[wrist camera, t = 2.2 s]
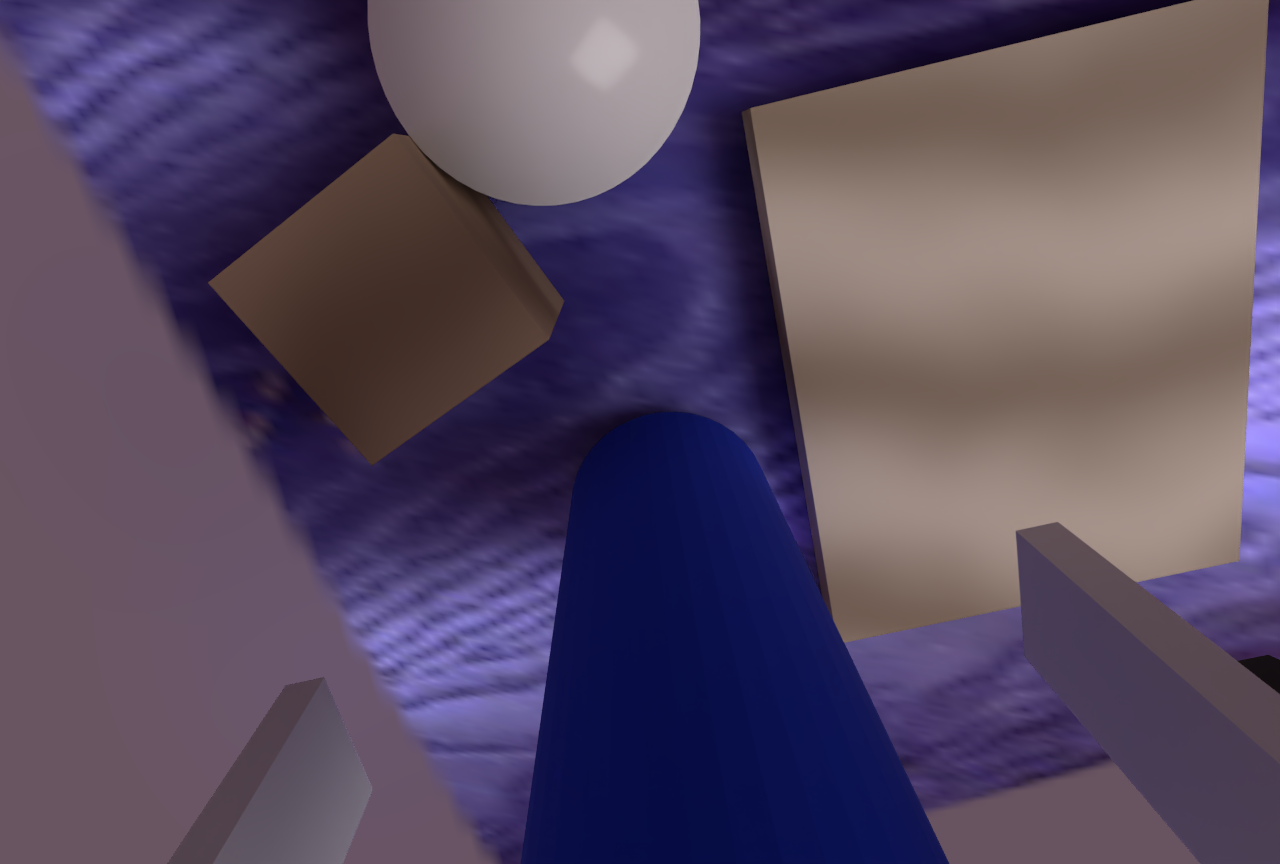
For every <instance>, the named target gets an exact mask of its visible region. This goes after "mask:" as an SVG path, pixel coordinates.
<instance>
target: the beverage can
mask: <svg viewBox="0 0 1280 864" xmlns="http://www.w3.org/2000/svg"><path fill="white" fill-rule="evenodd" d="M521 864H949V862H948V860H947V858H946V856H945V854H944V852H943V850H942V848H941V846H940V843H939V841H938V839H937V837H936V835H935V833H934V831H933V829H932V826H931V824H930V822H929V820H928V818H927V816H926V814H925V812H924V810H923V808H922V805H921V803H920V801H919V799H918V797H917V795H916V793H915V791H914V789H913V787H912V784H911V782H910V780H909V778H908V776H907V774H906V772H905V770H904V768H903V766H902V763H901V761H900V759H899V757H898V755H897V753H896V751H895V749H894V747H893V744H892V742H891V740H890V738H889V736H888V734H887V732H886V730H885V728H884V726H883V723H882V721H881V719H880V717H879V715H878V713H877V711H876V709H875V707H874V705H873V702H872V700H871V698H870V696H869V694H868V692H867V690H866V688H865V686H864V684H863V681H862V679H861V677H860V675H859V673H858V671H857V669H856V667H855V665H854V663H853V660H852V658H851V656H850V654H849V652H848V650H847V648H846V646H845V644H844V642H843V639H842V637H841V635H840V633H839V631H838V629H837V627H836V625H835V623H834V621H833V618H832V616H831V614H830V612H829V610H828V608H827V606H826V604H825V602H824V600H823V597H822V595H821V593H820V591H819V589H818V587H817V585H816V583H815V581H814V579H813V576H812V574H811V572H810V570H809V568H808V566H807V564H806V562H805V560H804V557H803V555H802V553H801V551H800V549H799V547H798V545H797V543H796V541H795V539H794V536H793V534H792V532H791V530H790V528H789V526H788V524H787V522H786V520H785V518H784V515H783V513H782V511H781V509H780V507H779V505H778V503H777V501H776V499H775V497H774V494H773V492H772V490H771V488H770V486H769V484H768V482H767V480H766V478H765V476H764V473H763V471H762V469H761V467H760V465H759V463H758V461H757V460H756V458H755V456H754V454H753V453H752V451H751V450H750V449H749V447H748V446H747V445H746V444H745V442H744V441H743V440H741V439H740V438H739V437H738V436H737V435H736V434H735V433H734V432H732V431H731V430H729V429H728V428H726V427H725V426H723V425H722V424H720V423H718V422H715V421H713V420H711V419H709V418H706V417H703V416H699V415H695V414H691V413H682V412H659V413H654V414H648V415H644V416H641V417H638V418H635V419H632V420H629V421H627V422H625V423H624V424H622V425H620V426H618V427H616V428H614V429H613V430H612V431H610V432H609V433H608V434H606V435H605V436H604V437H602V439H601V440H600V441H599V442H598V443H597V444H596V445H595V446H594V447H593V448H592V449H591V450H590V452H589V453H588V455H587V456H586V458H585V459H584V461H583V463H582V465H581V467H580V469H579V471H578V473H577V476H576V480H575V483H574V487H573V494H572V501H571V508H570V515H569V522H568V529H567V536H566V544H565V551H564V558H563V565H562V572H561V579H560V587H559V594H558V601H557V608H556V615H555V622H554V630H553V637H552V644H551V651H550V658H549V665H548V672H547V680H546V687H545V694H544V701H543V708H542V715H541V723H540V730H539V737H538V744H537V751H536V758H535V766H534V773H533V780H532V787H531V794H530V801H529V808H528V816H527V823H526V830H525V837H524V844H523V851H522V859H521Z"/></svg>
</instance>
